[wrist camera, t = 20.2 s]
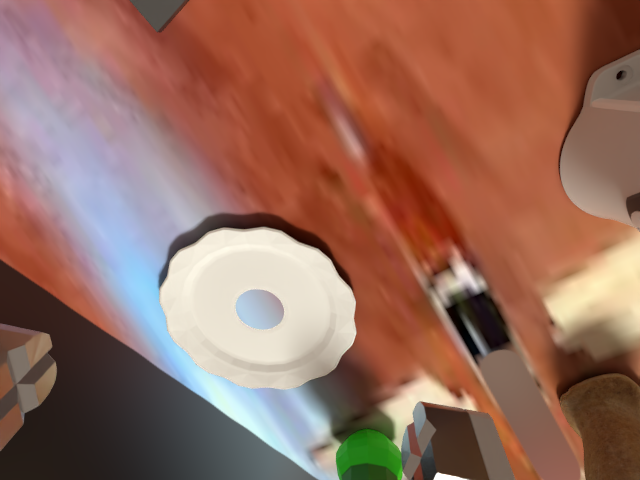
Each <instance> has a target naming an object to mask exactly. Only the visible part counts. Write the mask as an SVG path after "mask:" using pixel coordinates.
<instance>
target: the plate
mask: <svg viewBox="0 0 640 480" xmlns="http://www.w3.org/2000/svg"><path fill="white" fill-rule="evenodd" d="M252 289H261V290H266V291H268V292H271V293H272V294H274V295H275V296H277V297H278V298H279V299H280V301H281V303H282V304H283V307H284V317H283V320H282V321H281V322H280V324H279V325H277V326H276V327H274V328H271V329H266V330H260V329H255V328H252V327H249V326H248V325H246V324H244V323H243V322H242V321H241V320H240V318H239V317H238V315H237V313H236V310H235V304H236V301H237V299H238V297H239V296H240V295H241V294H242V293H244V292H245V291H248V290H252ZM159 302H160V304H161V307H162V309H163V311H164V314H165V316H166V323H167V331H168V332H169V334H170V336H171V337H172V339H173V341H174V342H175V343H176V344H178V345H179V346H180V347H181V348H182V349H184V350H185V351H186V352H187V353H188V354H189V356H190V357H191V358H192V359H193V361H194V362H195V363H196V365H198V366H199V367H201V368H202V369H204V370H205V371H207V372H208V373H211V374H214V375H217V376H221V377H224V378H226V379H228V380H229V381H231V382H233V383H235V384H237V385H238V386H243V387H247V388H252V389H253V388H266V387H269V388H277V389H290V388H296V387H299V386H301V385H302V384H304V383H306V382H308V381H309V380H312V379H315V378H318V377H322V376H325V375H327V374H328V373H330V372H331V371H332V370H334V369H335V368H336V366H337V364H338V362H339V360H340V358H341V356H342V355H343V354H344V353H345V352H346V351H347V350H348V349H349V348H350V347H351V346H352V345H353V342H354V339H355V336H356V327H355V322H354V312H355V305H356V300H355V298H354V295H353V292H352V289H351V287H350V286H349V285H348V284H347V283H346V282H345V281H344V280H343V279H342V278H341V277H340V276H339V274H338V272H337V270H336V269H335V267H334V265H333V263H332V261H331V259H330V258H329V257H328V256H327V255H325V254H324V253H323V252H322V251H321V250H319V249H318V248H316V247H313V246H310V245H307V244H304V243H301V242H299V241H297V240H295V239H294V238H292V237H291V236H289V235H288V234H286V233H285V232H283V231H282V230H278V229H274V228H269V227H265V226H263V227H256V228H249V229H238V228H229V227H222V228H218V229H215V230H211V231H208V232H207V233H206V234H205V235H204V236H203V237H201V238H200V239H199V240H198V241H197V242H196V243H193V244H191V245H189V246H186V247H184V248H182V249H179V250H178V252H177V253H176V254H175V255H174V256H173V258H172V259H171V260H170V264H169V269H168V274H167V277H166V279H165V280H164V282H163V284H162V285H161V287H160V289H159Z"/></svg>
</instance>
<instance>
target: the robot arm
mask: <svg viewBox="0 0 640 480" xmlns="http://www.w3.org/2000/svg"><path fill="white" fill-rule="evenodd" d="M619 71H622V76H621V77H620V78H619V79H618V80H617V79H616V75H617V73H618V72H619ZM560 176H561V181H562V185H563V187H564V190H565V192H566V194H567V195H568V197H569V198H570V199H571V201H572V202H573V203H574V204H575V205H576V206H577V207H579V208H580V209H581V210H583V211H585V212H587V213H589V214H591V215H594V216H597V217H600V218H606V219H612V220H616V221H619V222H622V223H625V224H627V225H630V226H632V227H634V228H637V229H638V231H639V232H640V49H639V50H637V51H635V52H633V53H631V54H629V55H627V56H624V57H622V58H620V59H618V60H616V61H614V62H612V63H610V64H608V65H605V66H603V67H601V68H600V69H598V70H597V71H595V72H594V73H593V74H592V76H591V77H590V79H589V81H588V84H587V88H586V92H585V98H584V104H583V108H582V110H581V113H580V115H579V116H578V118H577V120H576V122H575V123H574V125H573V127H572V128H571V130H570V132H569V134H568V136H567V138H566V141H565V143H564V146H563V150H562V154H561V160H560ZM51 347H52V343H51V340H50V335H48V334H45V333H42V332H37V331H32V330H27V329H23V328H18V327H13V326H9V325H4V324H0V450H1V449H2V448H3V447H4V446H5V445H6V444H7V442H8V441H9V440H10V439H11V438H12V437H13V435H14V434H15V433H16V432H17V431H18V430H19V428H20V427H21V426H22V425H23V423H24V413H26V412H28V411H30V410H32V409H34V408H35V407H37V406H39V405H40V404H41V403H42V402H43V400H44V399H45V398H46V397H47V396H48V394H49V392H50V390H51V388H52V386H53V384H54V382H55V378H56V371H57V369H56V363H55V361H54V360H53V359H52V358H51V357H50V356H49V354H48V353H47V352H48V351H49V350H50V349H51ZM413 418H414V422H413V423H412V424H410V425H408V426H407V427H406V430H405V433H404V436H403V441H402V448H401V461H402V471H403V473H404V474H405V476H406V477H407V478H408V480H515V477H514V475H513V472H512V469H511V467H510V464H509V461H508V459H507V456H506V454H505V451H504V448H503V446H502V443H501V440H500V438H499V435H498V432H497V430H496V427H495V425H494V422H493V419H492V417H491V416H490V415H489V414H488V413H482V412H477V411H471V410H466V409H465V410H463V409H461V408H455V407H449V406H444V405H438V404H432V403H426V402H418V403H417V404H416V406H415V408H414V411H413Z"/></svg>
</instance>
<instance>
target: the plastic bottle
mask: <svg viewBox="0 0 640 480" xmlns="http://www.w3.org/2000/svg"><path fill="white" fill-rule="evenodd" d="M336 465H337V472H338V476H339V479H340V480H401V478H402V461H401V452H400V450H399V448H398V447H397V446H396V445H395V444H394V443H393V442H392V441H390V440H389V439H388V438H387V437H386V436H385V435H384V434H382V433H380V432H379V431H376V430H371V429H364V430H359V431H357V432H356V433H354V434H351V435H350V436H349V437H348V438H347V439H346V440H345V441H344V442H343V444H342V445H341V446H340V447H339V449H338V451H337V453H336Z"/></svg>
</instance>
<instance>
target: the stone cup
mask: <svg viewBox="0 0 640 480" xmlns="http://www.w3.org/2000/svg"><path fill="white" fill-rule="evenodd" d="M560 406H561V409H562V411H563V414H564V416H565V418H566V419H567V421H568V423H569V424H570V426H571V427H572V428H573V429H574V431H575V432H576V433H577V434H578V435H579V436H580V437H581V438H582V441H583V447H584V468H585V478H586V480H640V387H639V386H638V385H637V384H636V383H635V382H634V381H633V380H632V379H630V378H629V377H627V376H625V375H623V374H618V373H610V374H604V375H600V376H596V377H592V378H589V379H586V380H584V381H582V382H580V383H578V384H575V385H574V386H572V387H571V388H570V389H569V390H568V391H567V392H566V393H564V394H562V396H561V397H560Z"/></svg>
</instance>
